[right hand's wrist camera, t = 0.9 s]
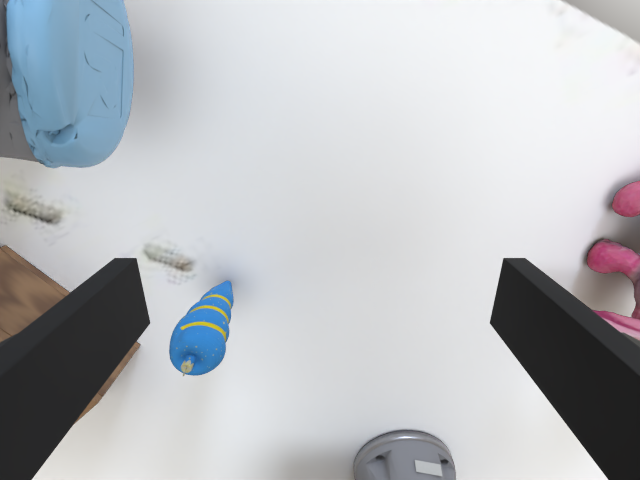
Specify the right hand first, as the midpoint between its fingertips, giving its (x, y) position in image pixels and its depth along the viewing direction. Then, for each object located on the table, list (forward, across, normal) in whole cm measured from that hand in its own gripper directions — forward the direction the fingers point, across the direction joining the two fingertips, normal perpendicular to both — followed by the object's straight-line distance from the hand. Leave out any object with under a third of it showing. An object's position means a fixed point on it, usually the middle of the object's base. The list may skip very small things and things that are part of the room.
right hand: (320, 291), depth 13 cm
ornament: (+27, +11, +14) cm, 33 cm away
